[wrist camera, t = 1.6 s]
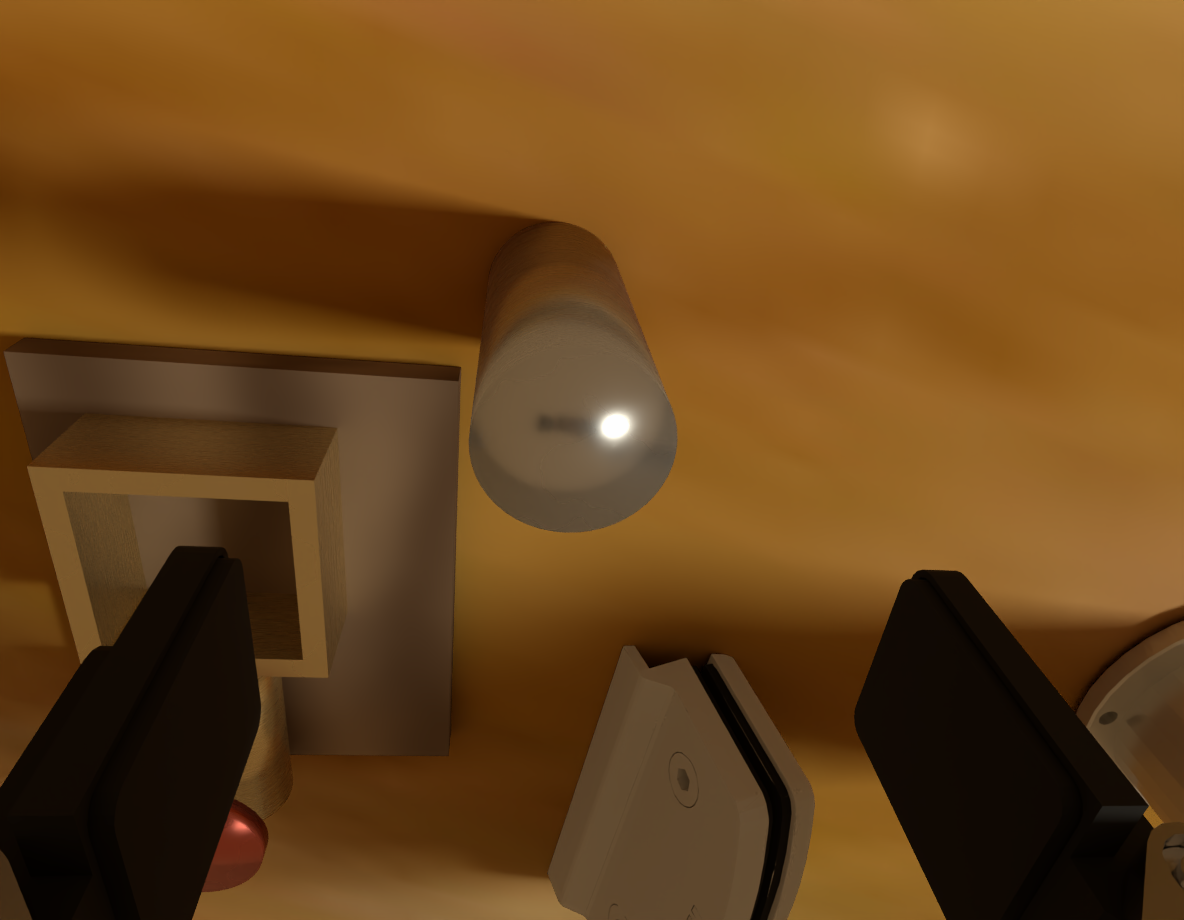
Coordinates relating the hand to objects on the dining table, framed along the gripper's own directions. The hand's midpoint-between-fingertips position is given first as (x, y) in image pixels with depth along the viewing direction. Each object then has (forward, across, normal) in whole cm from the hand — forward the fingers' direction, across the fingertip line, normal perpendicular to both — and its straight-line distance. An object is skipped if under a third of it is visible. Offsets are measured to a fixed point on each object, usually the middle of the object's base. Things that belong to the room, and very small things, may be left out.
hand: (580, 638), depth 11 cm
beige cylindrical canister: (+17, 0, 0) cm, 17 cm away
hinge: (+17, -8, +24) cm, 31 cm away
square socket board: (+16, +10, +13) cm, 23 cm away
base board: (+17, +10, +12) cm, 23 cm away
